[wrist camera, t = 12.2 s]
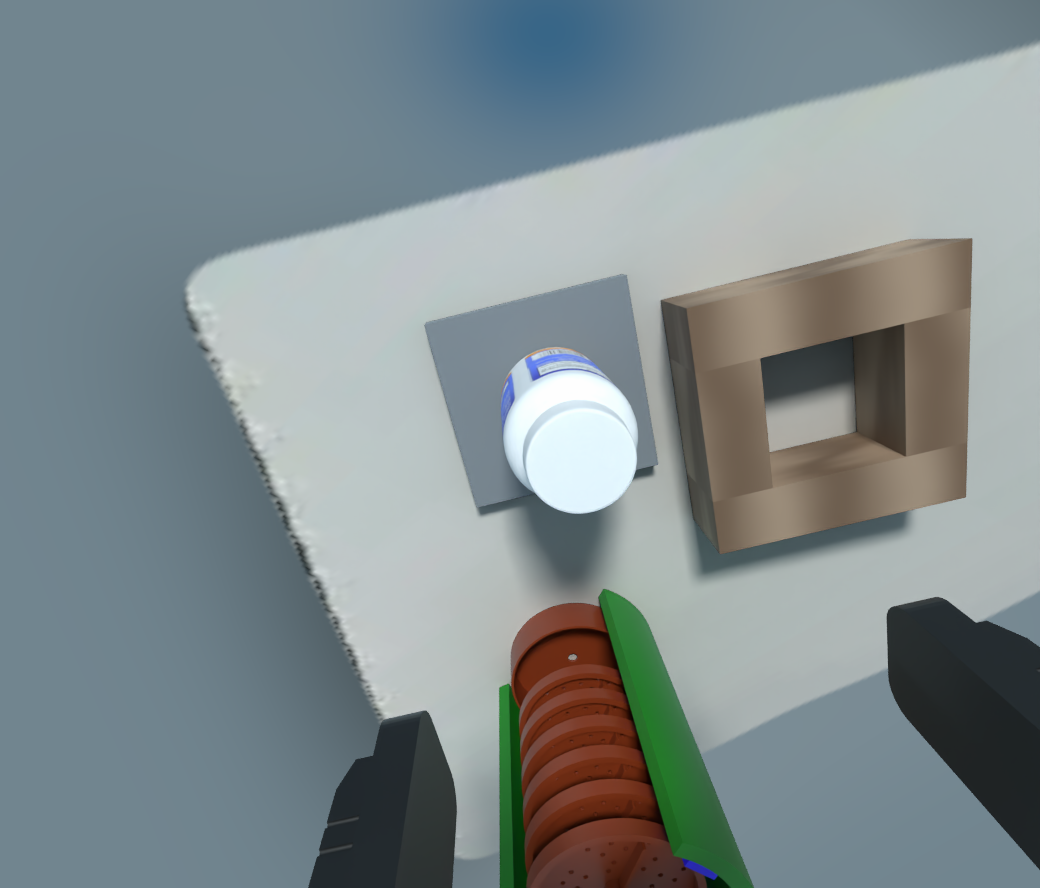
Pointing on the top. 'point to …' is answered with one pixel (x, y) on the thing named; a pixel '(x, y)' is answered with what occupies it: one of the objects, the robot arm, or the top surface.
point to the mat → (512, 336)
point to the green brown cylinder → (603, 762)
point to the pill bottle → (568, 431)
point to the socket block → (878, 391)
